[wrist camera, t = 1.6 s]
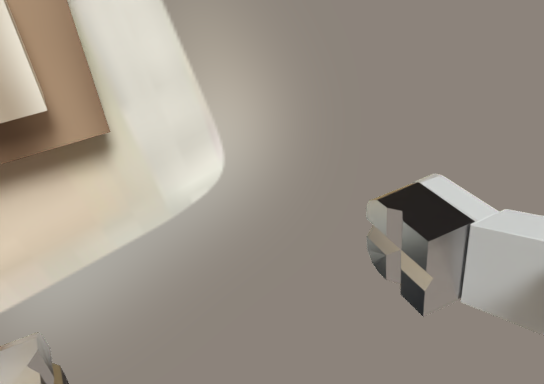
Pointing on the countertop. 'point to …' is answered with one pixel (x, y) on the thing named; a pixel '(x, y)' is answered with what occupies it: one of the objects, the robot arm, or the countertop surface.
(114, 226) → the countertop surface
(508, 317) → the robot arm
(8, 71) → the tile
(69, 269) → the countertop surface
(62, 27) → the bench plate
